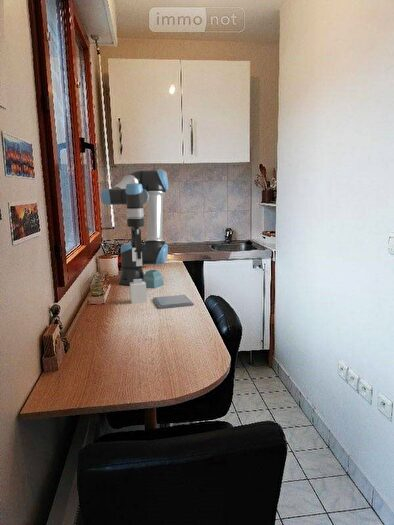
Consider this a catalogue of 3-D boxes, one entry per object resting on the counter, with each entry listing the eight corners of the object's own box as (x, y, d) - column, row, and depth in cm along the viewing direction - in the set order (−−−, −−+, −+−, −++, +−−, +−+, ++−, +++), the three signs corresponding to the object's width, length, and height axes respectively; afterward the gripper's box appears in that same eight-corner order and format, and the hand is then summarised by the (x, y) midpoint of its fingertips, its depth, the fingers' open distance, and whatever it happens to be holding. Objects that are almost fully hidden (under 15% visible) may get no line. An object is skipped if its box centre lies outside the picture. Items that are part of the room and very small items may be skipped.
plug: (130, 300, 181) (129, 278, 180) (145, 299, 183) (144, 277, 181) (131, 303, 177) (130, 281, 175) (146, 302, 179) (145, 280, 177)
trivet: (152, 299, 183) (152, 296, 183) (184, 296, 187) (184, 294, 187) (159, 308, 168) (158, 306, 168) (193, 305, 172) (193, 302, 172)
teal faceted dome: (163, 269, 210) (164, 285, 211) (151, 268, 214) (151, 283, 216) (154, 272, 202) (154, 289, 204) (141, 271, 207) (141, 287, 209)
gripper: (124, 216, 184) (126, 259, 187) (130, 219, 160) (132, 268, 164) (139, 216, 186) (141, 258, 190) (147, 219, 162) (149, 267, 166)
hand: (137, 263), depth 177 cm, fingers open, 13 cm apart
